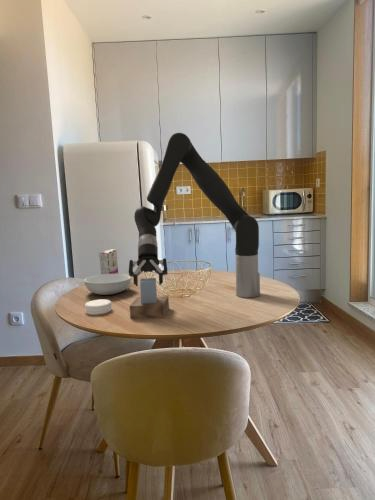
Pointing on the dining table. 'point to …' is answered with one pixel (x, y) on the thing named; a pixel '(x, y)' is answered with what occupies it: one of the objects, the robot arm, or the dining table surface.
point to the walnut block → (149, 308)
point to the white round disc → (98, 307)
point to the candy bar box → (108, 262)
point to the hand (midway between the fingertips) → (148, 284)
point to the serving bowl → (107, 283)
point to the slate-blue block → (148, 290)
